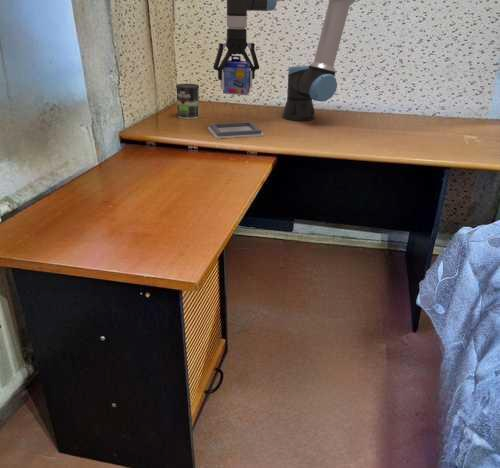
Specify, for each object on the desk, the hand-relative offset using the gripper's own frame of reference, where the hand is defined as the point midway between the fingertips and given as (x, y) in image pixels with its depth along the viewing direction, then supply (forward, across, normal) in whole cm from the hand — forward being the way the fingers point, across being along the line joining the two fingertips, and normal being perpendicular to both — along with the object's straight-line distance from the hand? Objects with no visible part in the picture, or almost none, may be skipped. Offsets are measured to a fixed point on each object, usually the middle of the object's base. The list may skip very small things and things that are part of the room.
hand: (236, 88), depth 191 cm
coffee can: (+18, +14, -32) cm, 40 cm away
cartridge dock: (+18, 0, 0) cm, 18 cm away
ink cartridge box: (+2, 0, 0) cm, 2 cm away
